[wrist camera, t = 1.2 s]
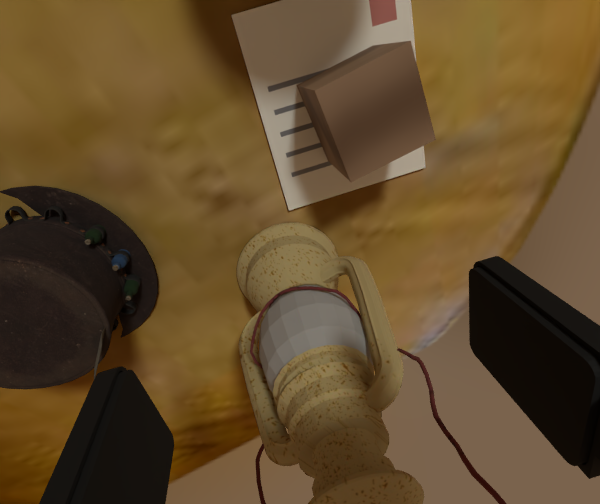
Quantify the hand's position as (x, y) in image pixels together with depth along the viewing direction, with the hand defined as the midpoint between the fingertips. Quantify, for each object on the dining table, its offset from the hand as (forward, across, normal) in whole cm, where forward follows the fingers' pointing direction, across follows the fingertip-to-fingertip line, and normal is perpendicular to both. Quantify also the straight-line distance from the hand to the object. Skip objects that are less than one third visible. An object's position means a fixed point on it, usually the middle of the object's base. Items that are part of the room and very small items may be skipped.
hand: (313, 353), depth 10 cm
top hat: (+21, +18, +4) cm, 28 cm away
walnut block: (+21, -8, -3) cm, 22 cm away
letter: (+21, -7, -3) cm, 22 cm away
